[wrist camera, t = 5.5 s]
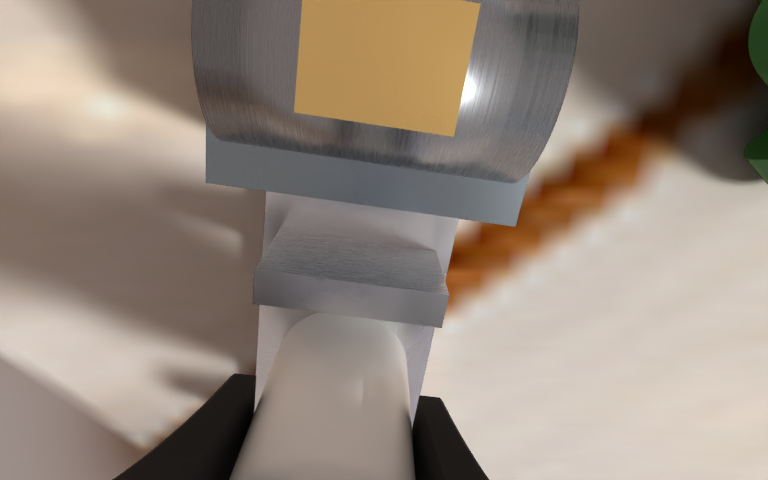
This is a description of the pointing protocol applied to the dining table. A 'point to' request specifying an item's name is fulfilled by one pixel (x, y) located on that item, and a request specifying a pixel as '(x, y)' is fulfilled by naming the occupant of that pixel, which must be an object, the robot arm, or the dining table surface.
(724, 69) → the dining table surface
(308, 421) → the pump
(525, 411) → the dining table surface
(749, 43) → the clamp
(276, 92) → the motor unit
